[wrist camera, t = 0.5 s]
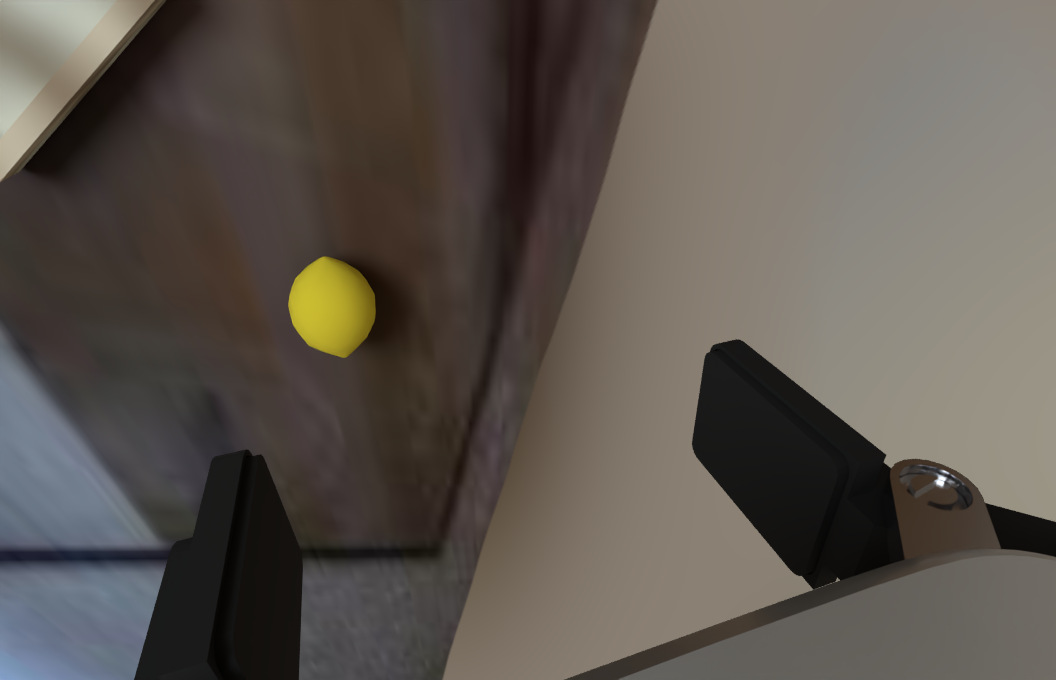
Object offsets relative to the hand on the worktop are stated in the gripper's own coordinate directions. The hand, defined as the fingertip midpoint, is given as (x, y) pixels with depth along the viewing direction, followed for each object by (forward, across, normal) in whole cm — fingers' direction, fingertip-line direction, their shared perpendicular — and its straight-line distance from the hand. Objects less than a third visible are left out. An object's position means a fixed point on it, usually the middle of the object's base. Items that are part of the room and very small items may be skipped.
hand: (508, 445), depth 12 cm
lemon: (+29, +5, +9) cm, 31 cm away
